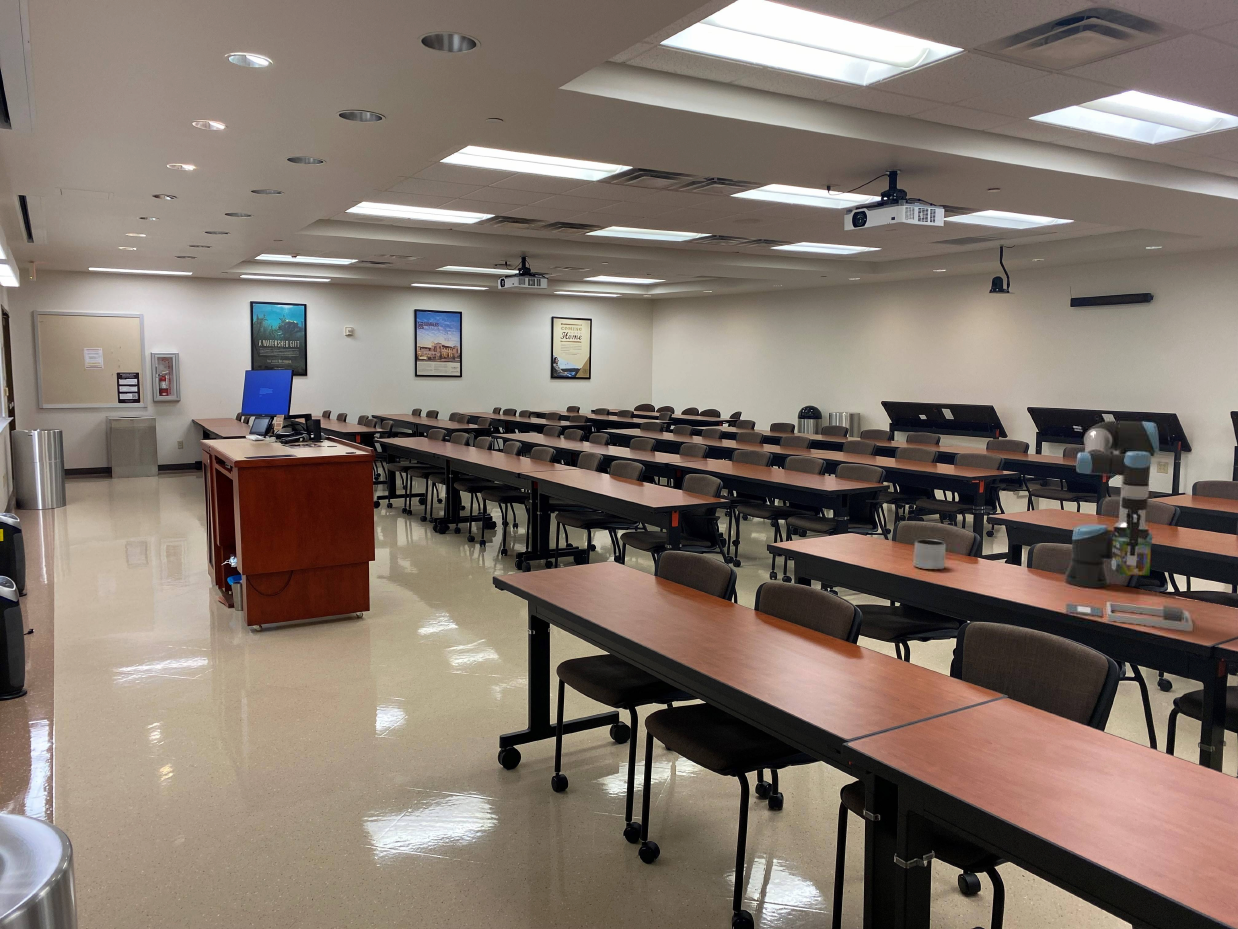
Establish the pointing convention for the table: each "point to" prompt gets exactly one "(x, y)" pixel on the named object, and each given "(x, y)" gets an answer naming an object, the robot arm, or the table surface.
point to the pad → (1084, 610)
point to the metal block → (1172, 613)
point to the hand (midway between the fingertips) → (1130, 561)
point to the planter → (929, 554)
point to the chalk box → (1121, 556)
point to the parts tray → (1146, 621)
